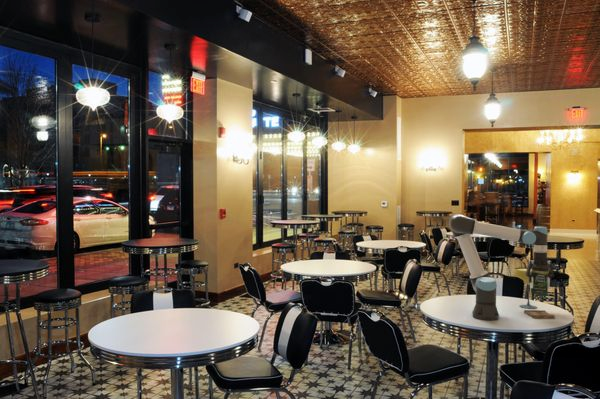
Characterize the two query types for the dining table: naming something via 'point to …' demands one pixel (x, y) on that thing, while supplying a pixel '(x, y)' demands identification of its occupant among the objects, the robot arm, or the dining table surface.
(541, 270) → the coffee jar
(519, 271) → the cocktail glass
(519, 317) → the dining table surface
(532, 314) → the walnut board
